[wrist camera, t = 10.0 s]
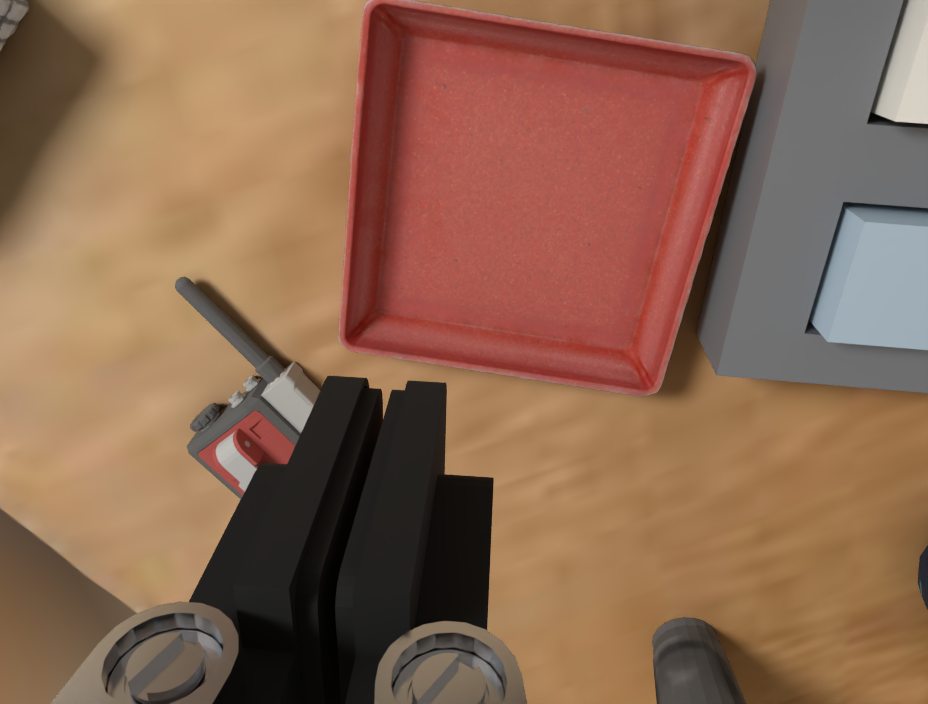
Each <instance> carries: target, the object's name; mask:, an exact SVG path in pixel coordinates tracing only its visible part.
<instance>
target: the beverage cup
mask: <svg viewBox="0 0 928 704" xmlns="http://www.w3.org/2000/svg"><path fill="white" fill-rule="evenodd" d="M652 643H653V648H654V649H653V655H654V658H653V666H654V677H655V688H656V699H657V704H746V702H745V699H744V697H743V695H742V692H741V690H740V687H739V685H738V683H737V680H736V678H735V675H734V673H733V670H732V668H731V666H730V663H729V661H728V658H727V656H726V654H725V651H724V649H723V648H722V646H721V644H720V642H719V640H718V638H717V636H716V632H715V631H714V629H713V628H712V627H711V626H710V625H709V624H707V623H706V622H704V621H702V620H698V619H695V618H679V619H673V620H671V621H669V622H666V623H664V624H663V625H662V626H661V627H659V628H658V629H657V631H656V632H655V634H654V636H653V642H652Z"/></svg>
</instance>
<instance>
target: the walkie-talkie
mask: <svg viewBox="0 0 928 704" xmlns="http://www.w3.org/2000/svg"><path fill="white" fill-rule="evenodd" d="M175 288H176V290H177V291H178V292H179V293H180V294H181V295H182V296H183V297H184V298H185V299H186V300H187V301H188V302H189V303H190V304H191V305H192V306H193V307H194V308H195V309H196V310H197V311H198V312H199V313H200V314H201V315H202V316H203V317H204V318H205V319H206V320H207V321H208V322H209V323H210V324H211V325H212V326H213V327H214V328H215V329H216V330H217V331H218V332H219V333H220V334H221V335H223V336H224V337H225V338H226V339H227V340H228V341H229V342H230V343H231V344H232V345H233V346H234V347H235V348H236V349H237V350H238V351H239V352H240V353H241V354H242V355H243V356H244V357H245V358H246V359H247V360H248V361H249V362H250V363H251V364H252V365H253V366H254V367H255V368H256V372H257V373H258V374H259V375H260V376H261V377H262V379H260V378H259V379H256V378H255V377H254V376H253V375H252V376H250V377H249V378H248V379H247V380H246V381H245V382H244V383H245V384H243V385H244V386H245V388H247V390H246V391H245V392H244V393H243V394H241V393H240V392H239V391H237V392H235V393H234V394H233V395H232V396H231V397H230V399H229V400H228V401H229V402H230V404H229V405H227V406H226V407H225V408H223V409H222V410H221V411H220V412H219V406H218V405H217V404H216V403H214V404H210V405H209V406H207V407H206V408H205V409H204V410H203V411H202V412H201V413H200V414H199V415H198V416H197V417H196V418H195V419H194V420H193V421H192V423H191V424H190V428H191V429H192V430H193V431H194V432H195V431H197V432H196V434H195V435H194V437H193V438H192V440H191V441H190V442H189V444H188V445H187V449H188V452H189V454H190V455H191V456H193V457H194V458H195V459H196V460H197V461H198V462H199V463H200V464H202V465H203V466H204V467H205V468H206V469H207V470H208V471H209V472H211V473H212V474H213V475H214V476H215V477H216V478H217V479H218V480H220V481H221V482H222V483H223V484H224V485H225V486H226V487H227V488H229V489H230V490H231V491H232V492H233V493H234V494H235V495H236V496H238V497H239V498H242V496H243V494H244V493H245V491H246V489H247V487H248V485H249V483H250V481H251V479H252V477H253V475H254V473H255V471H256V470H257V468H258V467H259V465H261V464H263V463H277V464H287V463H288V461H289V459H290V457H291V455H292V452H293V450H294V448H295V446H296V443H297V441H298V439H299V437H300V435H301V432H302V430H303V428H304V426H305V424H306V421H307V419H308V417H309V415H310V413H311V410H312V408H313V406H314V404H315V402H316V399H317V397H318V395H319V393H320V390H319V389H318V388H317V386H316V385H315V384H314V383H313V382H312V381H311V380H310V379H309V378H308V377H307V376H306V375H305V374H304V373H303V369H302V368H301V367H300V366H299V365H298V364H297V363H296V362H293V363H292V364H290V365H289V366H288V367H286V368H284V367H283V366H282V365H281V364H280V363H279V362H278V361H277V360H276V359H275V358H274V357H273V356H268V355H267V354H266V353H265V352H264V351H263V350H262V349H261V348H260V347H259V346H258V345H257V344H256V343H255V342H254V341H253V340H252V339H251V338H250V337H249V336H248V335H247V334H246V333H245V332H244V331H243V330H242V329H241V328H240V327H239V326H238V325H237V324H236V323H235V322H234V321H233V320H232V319H231V318H230V317H229V316H228V315H227V314H226V313H225V312H224V311H223V310H220V309H219V308H218V307H217V306H216V305H215V304H214V303H213V302H212V301H211V300H210V299H209V298H208V297H207V296H206V295H205V294H204V293H203V292H202V291H201V290H200V289H199V288H198V287H197V286H196V285H195V284H194V283H193V282H192V281H191V280H190V279H188V278H186V277H181V278H179V279H178V280H177V281H176V284H175Z"/></svg>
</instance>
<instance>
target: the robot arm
mask: <svg viewBox="0 0 928 704" xmlns="http://www.w3.org/2000/svg"><path fill="white" fill-rule="evenodd" d="M446 396H447V388H446V383H439V382H422V381H407V384H406V388H405V390H392V391H391V394H390V398H389V401H388V405H387V408H386V412H385V415H384V419H383V399H382V391H381V389H372V388H369V383H368V379H367V378H357V377H340V376H327V378H326V380H325V382H324V384H323V386H322V388H321V391H320V393H319V395H318V397H317V399H316V402H315V404H314V406H313V408H312V410H311V413H310V415H309V417H308V419H307V421H306V424H305V426H304V428H303V430H302V432H301V435H300V437H299V439H298V441H297V443H296V446H295V448H294V450H293V452H292V455H291V457H290V459H289V461H288V463H287V464H277V463H263V464H261V465H259V467H258V468H257V470H256V471H255V473H254V475H253V477H252V479H251V481H250V483H249V485H248V487H247V489H246V491H245V493H244V494H243V496H242V498H241V500H240V502H239V504H238V506H237V508H236V510H235V512H234V514H233V516H232V518H231V520H230V522H229V524H228V526H227V528H226V530H225V532H224V534H223V536H222V538H221V540H220V542H219V544H218V546H217V548H216V549H215V551H214V553H213V555H212V557H211V559H210V561H209V563H208V565H207V567H206V569H205V571H204V573H203V575H202V577H201V579H200V581H199V583H198V585H197V587H196V589H195V591H194V593H193V595H192V597H191V599H190V601H189V602H175V603H169V604H163V605H158V606H155V607H153V608H150V609H147V610H145V611H142V612H139V613H137V614H135V615H133V616H132V617H130V618H129V619H127V620H125V621H124V622H122V623H121V624H119V625H117V626H116V627H115V628H114V629H113V630H112V631H111V632H110V633H109V634H108V635H107V636H106V637H105V638H104V639H103V640H102V641H101V642H99V644H98V645H97V646H96V647H95V649H94V650H93V651H92V653H91V654H90V655H89V656H88V657H87V659H86V660H85V661H84V662H83V664H82V665H81V666H80V668H79V669H78V670H77V671H76V672H75V674H74V675H73V676H72V678H71V679H70V680H69V681H68V682H67V684H66V685H65V686H64V687H63V688H62V690H61V691H60V692H59V694H58V695H57V696H56V697H55V698H54V700H53V701H52V702H51V704H527V700H526V694H525V689H524V683H523V678H522V674H521V671H520V668H519V666H518V663H517V660H516V658H515V656H514V655H513V653H512V652H511V651H510V650H509V648H508V647H507V646H506V645H505V643H504V642H503V641H502V640H500V639H499V638H497V637H496V636H494V635H493V634H492V633H490V632H489V631H487V617H488V595H489V572H490V549H491V526H492V503H493V478H489V477H474V476H459V475H444V471H445V434H446Z"/></svg>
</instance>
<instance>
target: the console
mask: <svg viewBox="0 0 928 704" xmlns="http://www.w3.org/2000/svg"><path fill="white" fill-rule="evenodd" d="M902 3H903V0H770V5H769V9H768V14H767V18H766V22H765V27H764V31H763V36H762V40H761V45H760V49H759V54H758V58H757V63H756V69H757V72H756V79H755V83H754V86H753V90H752V93H751V96H750V99H749V103H748V106H747V110H746V113H745V116H744V121H743V125H742V130H741V134H740V139H739V143H738V148H737V152H736V157H735V161H734V165H733V170H732V174H731V179H730V183H729V188H728V192H727V197H726V201H725V206H724V210H723V215H722V219H721V224H720V228H719V233H718V237H717V241H716V246H715V250H714V255H713V259H712V264H711V268H710V273H709V277H708V282H707V286H706V291H705V295H704V300H703V304H702V309H701V313H700V317H699V322H698V326H697V331H696V334H697V337H698V339H699V341H700V343H701V345H702V347H703V349H704V351H705V353H706V355H707V357H708V359H709V361H710V363H711V365H712V367H713V369H714V371H715V373H716V375H718V376H730V377H742V378H753V379H765V380H777V381H789V382H801V383H813V384H825V385H836V386H848V387H860V388H872V389H884V390H896V391H908V392H920V393H928V350H919V349H907V348H895V347H883V346H871V345H859V344H847V343H835V342H827V341H826V340H825V339H824V337H823V336H822V335H821V334H820V333H819V331H818V330H817V329H816V328H815V327H814V325H813V324H812V323H811V322H810V321H809V316H810V313H811V309H812V306H813V303H814V299H815V296H816V293H817V289H818V286H819V283H820V279H821V276H822V272H823V269H824V266H825V262H826V259H827V256H828V252H829V249H830V246H831V242H832V239H833V235H834V232H835V229H836V225H837V222H838V219H839V215H840V212H841V209H842V205H843V202H853V203H866V204H879V205H892V206H905V207H919V208H928V124H922V123H909V122H895V121H893V120H890V119H887V118H885V117H882V116H880V115H877V114H874V113H872V112H870V111H871V108H872V104H873V101H874V98H875V94H876V91H877V88H878V84H879V81H880V77H881V74H882V71H883V67H884V64H885V61H886V57H887V54H888V51H889V47H890V44H891V40H892V37H893V34H894V30H895V27H896V24H897V20H898V17H899V14H900V10H901V7H902Z"/></svg>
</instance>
